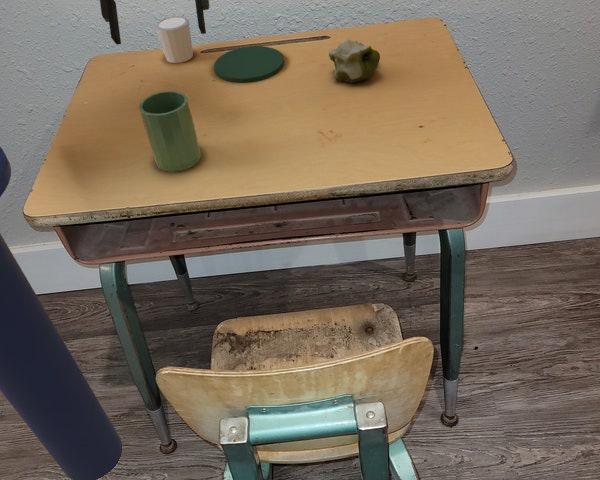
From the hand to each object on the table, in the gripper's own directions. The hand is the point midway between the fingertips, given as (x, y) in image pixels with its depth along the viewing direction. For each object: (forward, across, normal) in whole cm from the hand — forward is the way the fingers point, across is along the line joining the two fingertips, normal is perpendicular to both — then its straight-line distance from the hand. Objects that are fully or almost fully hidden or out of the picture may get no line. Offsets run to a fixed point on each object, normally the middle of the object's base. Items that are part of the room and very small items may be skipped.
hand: (159, 35), depth 93 cm
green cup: (+18, 0, -4) cm, 19 cm away
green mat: (-3, -12, -26) cm, 29 cm away
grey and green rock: (+4, -32, -19) cm, 37 cm away
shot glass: (-9, +2, -31) cm, 33 cm away
